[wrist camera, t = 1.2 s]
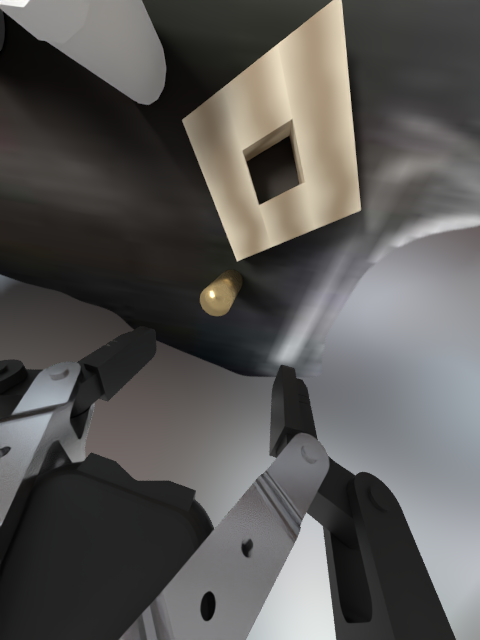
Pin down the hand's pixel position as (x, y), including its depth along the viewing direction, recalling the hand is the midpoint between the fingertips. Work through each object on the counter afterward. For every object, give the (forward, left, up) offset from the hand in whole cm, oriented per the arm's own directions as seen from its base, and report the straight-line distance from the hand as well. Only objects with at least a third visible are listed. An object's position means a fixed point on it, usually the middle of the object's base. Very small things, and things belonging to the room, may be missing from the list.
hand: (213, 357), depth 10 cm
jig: (+7, +11, -21) cm, 25 cm away
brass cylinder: (-4, 0, -21) cm, 22 cm away
